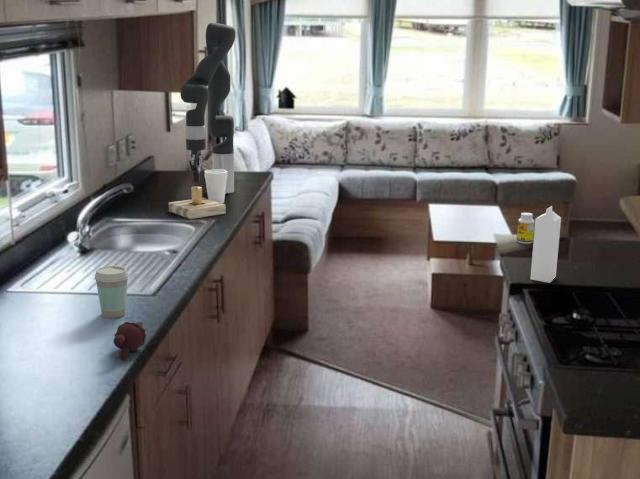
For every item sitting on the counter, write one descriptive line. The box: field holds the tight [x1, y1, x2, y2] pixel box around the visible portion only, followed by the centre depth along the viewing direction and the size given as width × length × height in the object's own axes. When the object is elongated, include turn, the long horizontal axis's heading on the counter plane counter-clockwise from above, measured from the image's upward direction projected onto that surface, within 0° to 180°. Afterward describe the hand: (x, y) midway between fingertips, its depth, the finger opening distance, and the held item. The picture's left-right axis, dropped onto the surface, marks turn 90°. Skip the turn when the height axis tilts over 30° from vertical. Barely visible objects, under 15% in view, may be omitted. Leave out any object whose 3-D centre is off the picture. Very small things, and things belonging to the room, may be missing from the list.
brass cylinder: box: [190, 185, 203, 206], centre depth 328 cm, size 4×4×10 cm
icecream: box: [112, 321, 147, 361], centre depth 194 cm, size 7×7×15 cm
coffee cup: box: [94, 265, 130, 319], centre depth 216 cm, size 8×8×12 cm
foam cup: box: [204, 168, 227, 204], centre depth 346 cm, size 10×9×13 cm
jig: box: [168, 197, 227, 220], centre depth 329 cm, size 16×16×4 cm
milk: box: [529, 205, 562, 284], centre depth 250 cm, size 6×6×22 cm
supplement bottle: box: [516, 212, 535, 245], centre depth 293 cm, size 6×6×10 cm
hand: (196, 181), depth 326 cm, fingers closed
